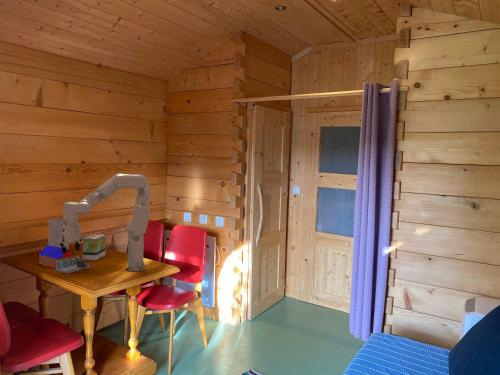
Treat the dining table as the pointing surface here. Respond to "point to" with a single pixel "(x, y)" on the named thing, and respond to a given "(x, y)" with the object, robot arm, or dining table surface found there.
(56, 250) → the house
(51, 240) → the cylinder vase
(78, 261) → the cube on round rod
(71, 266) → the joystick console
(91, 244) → the tea box
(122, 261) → the dining table surface
